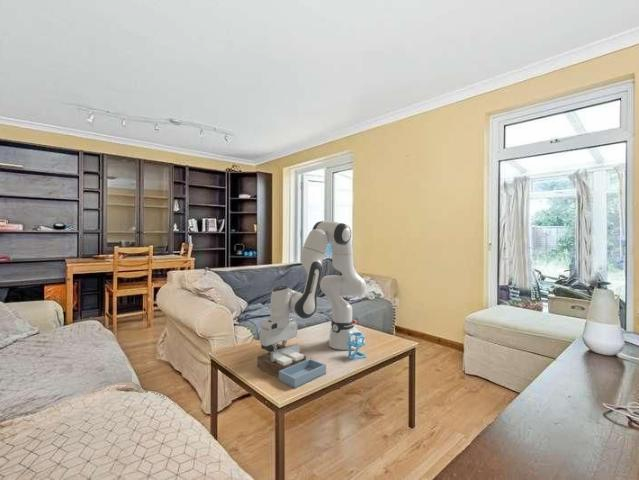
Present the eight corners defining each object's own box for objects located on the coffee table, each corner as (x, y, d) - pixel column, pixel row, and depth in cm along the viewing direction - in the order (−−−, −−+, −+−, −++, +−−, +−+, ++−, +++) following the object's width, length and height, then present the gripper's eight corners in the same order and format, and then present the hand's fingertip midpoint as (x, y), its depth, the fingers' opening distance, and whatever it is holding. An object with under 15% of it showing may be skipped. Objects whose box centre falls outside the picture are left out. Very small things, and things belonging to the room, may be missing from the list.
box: (309, 366, 149) (310, 358, 149) (325, 373, 143) (326, 364, 142) (278, 380, 135) (278, 371, 135) (294, 388, 129) (295, 378, 128)
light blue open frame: (344, 356, 163) (345, 333, 163) (356, 352, 168) (356, 330, 168) (355, 361, 157) (356, 337, 157) (367, 357, 162) (367, 333, 162)
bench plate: (283, 357, 160) (283, 347, 160) (306, 367, 149) (306, 356, 149) (257, 367, 148) (257, 356, 148) (279, 378, 137) (280, 366, 137)
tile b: (284, 359, 145) (284, 355, 145) (292, 362, 142) (292, 359, 142) (276, 362, 142) (276, 358, 142) (283, 365, 138) (283, 362, 138)
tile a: (296, 354, 150) (296, 351, 150) (303, 358, 147) (303, 354, 147) (288, 357, 147) (288, 354, 147) (295, 361, 143) (295, 357, 143)
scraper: (249, 352, 152) (249, 343, 152) (275, 343, 164) (275, 335, 164) (273, 361, 140) (273, 352, 140) (299, 352, 152) (299, 343, 152)
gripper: (291, 315, 159) (291, 343, 159) (258, 324, 144) (257, 354, 144) (300, 318, 155) (300, 346, 155) (266, 327, 140) (266, 358, 140)
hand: (279, 350), depth 150 cm, fingers closed on scraper, 2 cm apart
